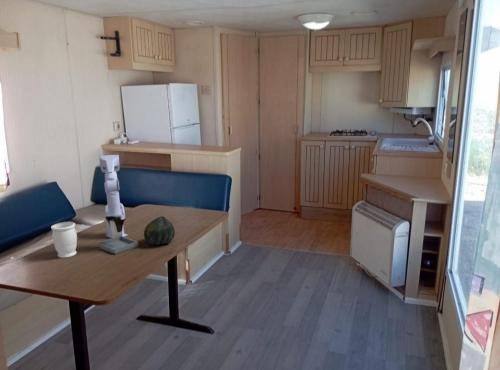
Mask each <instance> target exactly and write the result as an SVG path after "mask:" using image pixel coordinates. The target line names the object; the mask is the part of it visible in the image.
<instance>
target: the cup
mask: <svg viewBox="0 0 500 370" xmlns="http://www.w3.org/2000/svg"><path fill="white" fill-rule="evenodd" d="M110 227H111V234H112V237H120V236H122V232H117V228H116V224H115V222H114V221H113V219H112V220H110Z"/></svg>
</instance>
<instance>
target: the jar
mask: <svg viewBox="0 0 500 370" xmlns="http://www.w3.org/2000/svg"><path fill="white" fill-rule="evenodd" d="M75 226H76V222H73V221H63V222H57V223H55V224H53V225H51V227H50V228H51V230H52V242H53V245H54V248H55V250H56V252H57V257H58V258H62V259H65V258H70V257H73V256H75V255H76V254H77V250H76V249H77V245H78V243H77V242H78V235H77V231H76V228H75Z"/></svg>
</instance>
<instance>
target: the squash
mask: <svg viewBox="0 0 500 370" xmlns="http://www.w3.org/2000/svg"><path fill="white" fill-rule="evenodd" d="M175 231H176V230H175V227H174V225H173V223H172V222H171V221H170V220H169V219H168V218H167V217H165V216H159V217H156V218H155V219H152V220H151V221H149V223H147V225H146V226H145V228H144V231H143V237H144V240H145V241H146V243H148V244H150V245H152V246H154V245H155V246H156V245H158V246H159V245H164V244H165V245H169V244H170V243H171V242H172V241H173V239H174V238H175V233H176V232H175Z"/></svg>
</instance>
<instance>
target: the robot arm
mask: <svg viewBox="0 0 500 370" xmlns="http://www.w3.org/2000/svg"><path fill="white" fill-rule="evenodd" d="M119 157H120V156H119V154H111V155H108V154H107V155H100V156H99V157H98V158H99V167H100V170H101V172H102V173H105V174H104V191H105V194H106V203H107V204H106V205H105V207H104V214H105V215H104V216H105V220H106V223H105V229H106V234H105V237H107V238H109V239H112V238H115V237H112V234H111V227H110V220H112V219H113V221H114V222H115V224H116V228H117V232H122V236H124V237H127V236H129V235H128V233H125V230H124V229H125V228H124V225H125V224H124V223H125V220H126V213H125V207H124V205H123V203H121V202H120V192H119V191H120V181H119V179H118V175H117V172H118V171H120V158H119Z"/></svg>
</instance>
